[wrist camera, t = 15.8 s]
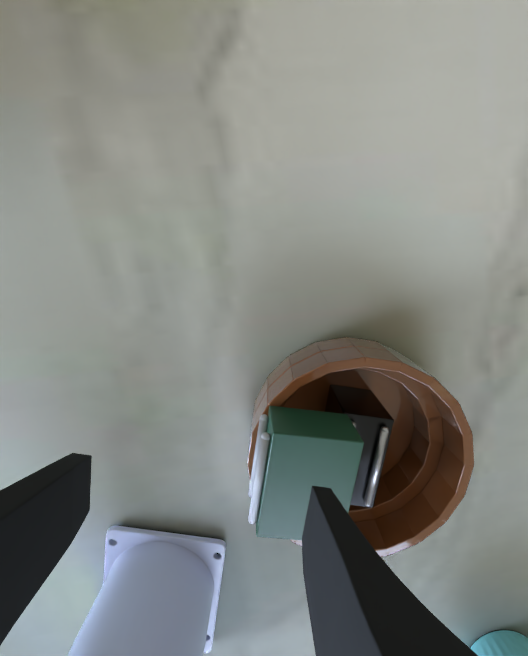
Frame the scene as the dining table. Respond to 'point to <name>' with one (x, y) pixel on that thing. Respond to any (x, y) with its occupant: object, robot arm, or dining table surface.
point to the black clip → (364, 436)
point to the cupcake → (501, 644)
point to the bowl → (405, 440)
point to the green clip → (300, 467)
